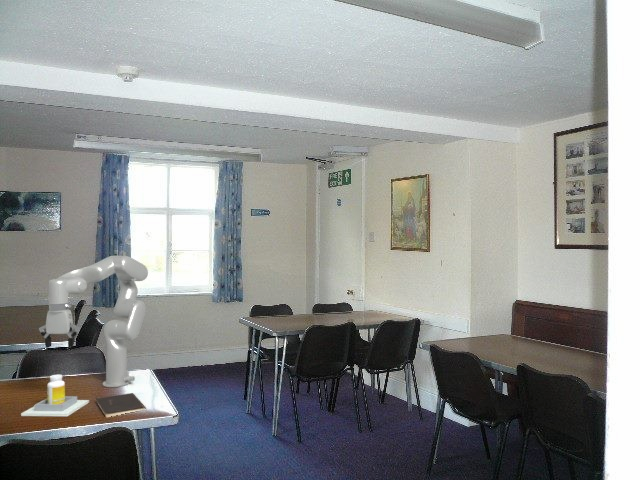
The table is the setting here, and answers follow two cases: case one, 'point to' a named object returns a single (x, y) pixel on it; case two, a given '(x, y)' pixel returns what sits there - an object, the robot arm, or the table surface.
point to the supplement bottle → (56, 390)
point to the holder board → (56, 407)
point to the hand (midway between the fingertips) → (59, 346)
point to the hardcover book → (120, 404)
